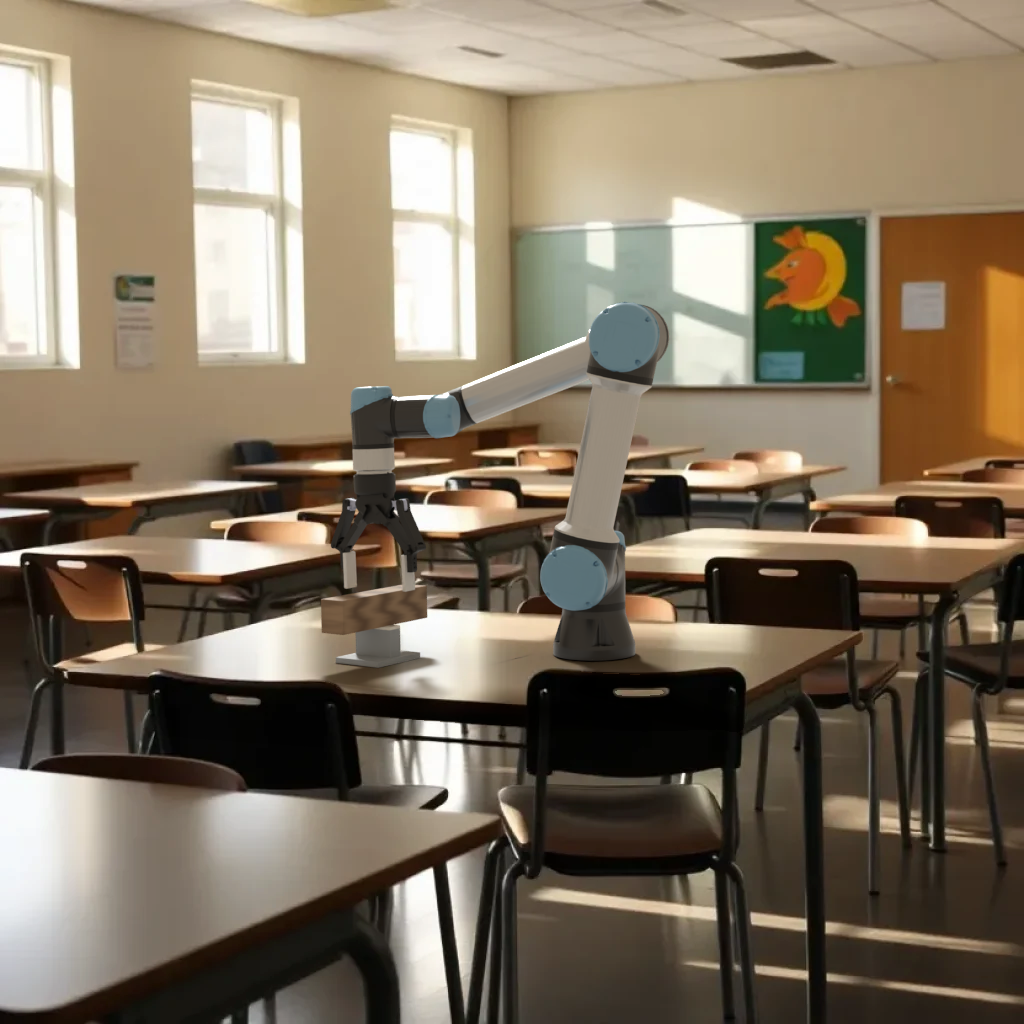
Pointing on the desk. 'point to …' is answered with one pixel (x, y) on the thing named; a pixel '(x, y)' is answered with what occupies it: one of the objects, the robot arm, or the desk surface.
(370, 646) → the fulcrum
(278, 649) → the desk surface
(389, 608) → the brown long rectangular block
